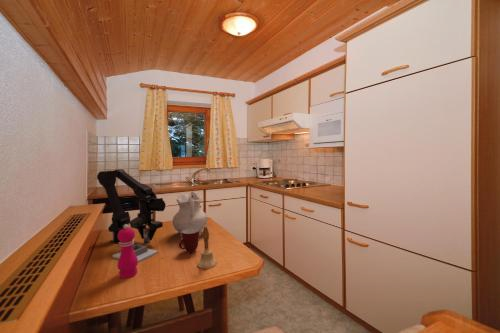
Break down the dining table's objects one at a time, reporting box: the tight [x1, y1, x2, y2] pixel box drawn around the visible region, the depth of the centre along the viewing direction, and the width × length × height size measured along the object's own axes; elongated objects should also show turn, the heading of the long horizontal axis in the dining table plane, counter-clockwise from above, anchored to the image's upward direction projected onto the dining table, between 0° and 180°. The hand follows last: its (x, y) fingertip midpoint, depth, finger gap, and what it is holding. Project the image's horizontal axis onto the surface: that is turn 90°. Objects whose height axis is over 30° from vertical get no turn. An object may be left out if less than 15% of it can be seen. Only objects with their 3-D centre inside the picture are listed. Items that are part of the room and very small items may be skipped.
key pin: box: [143, 226, 151, 245], centre depth 125 cm, size 3×3×8 cm
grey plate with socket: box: [112, 243, 159, 264], centre depth 110 cm, size 16×12×4 cm
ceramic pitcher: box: [172, 191, 208, 238], centre depth 135 cm, size 22×20×25 cm
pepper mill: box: [116, 224, 139, 279], centre depth 92 cm, size 7×7×20 cm
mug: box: [178, 228, 200, 254], centre depth 112 cm, size 10×8×10 cm
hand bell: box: [196, 226, 218, 270], centre depth 100 cm, size 8×8×16 cm
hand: (146, 239), depth 126 cm, fingers open, 6 cm apart
